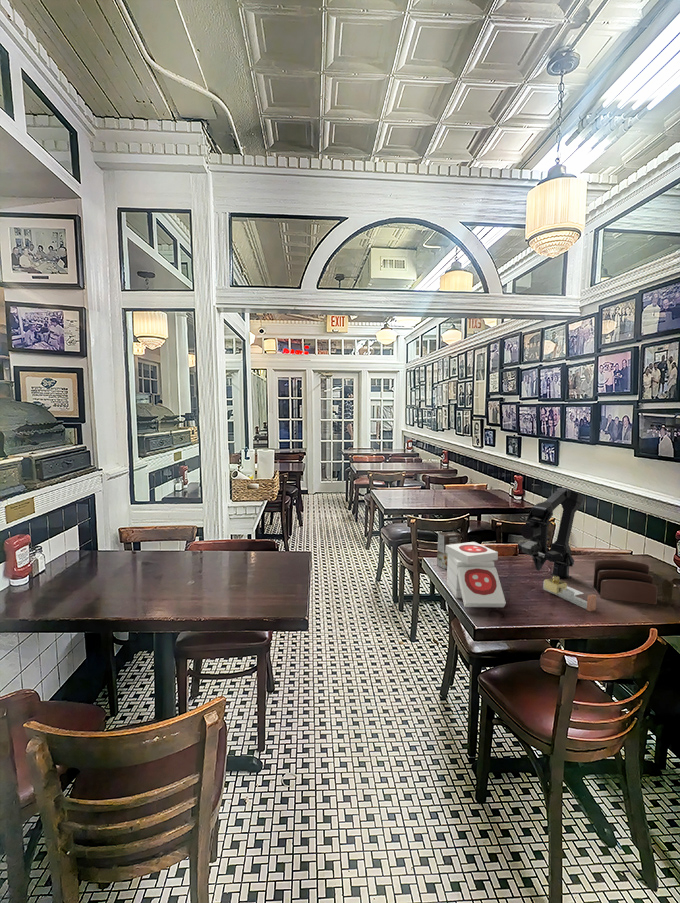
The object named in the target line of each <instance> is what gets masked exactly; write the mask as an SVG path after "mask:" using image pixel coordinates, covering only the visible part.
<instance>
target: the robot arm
mask: <svg viewBox="0 0 680 903" xmlns="http://www.w3.org/2000/svg"><path fill="white" fill-rule="evenodd" d="M583 501H584V497H583V495H582V494H581V493H580V492H575V491H573V490H570V489H569V488H564V487H557V488H556V489H555V491H554V492H553V493H552V494H551V495H550V496H549V497H548V498H547V499H546V500H544V501H542V502H538V503H536V504H534V505H533V506H532V507H531V509H530V511H529V513H528V516H527V519H526V522H525V524H524V525H523V526H522V527H521V528H520V534H521V536H522V537H523V538H524V539H525V540H526V539H527V540H529V541H527V540H526V541H522V542H521V541H520V542H519V543H518V544H517V549H518V550H521V551H522V553H523V554H527V556H528V555H529V556H530V557H531V558H532V560H533V563H534V566H535V570H536V571H538V572H540V571H541V570H542V567H544V564H546V561H548V562H551V563H553V566H552V573H550V576H552V577H553V576H554V575H556V576H559V580H566V579H571V578H573V577H572V576H571V575H569V574H570V567H571V568H572V567H574V564H575V559H574V557H573V555H571V554H572V549H571V547H570V543H569V542H570V538H571V532H572V528H573V523H574V518H575V515H576V512H577V511H578V510H579V509H580V508H581V506H582V503H583ZM560 505H561V507H562V514H561V517H560V523H559V527H558V533H557V538H556V541H554V542H552V543H551V544H550V547H548V541H550V537H548V536H549V535H548V532H549V525H550V524H551V522H550V520H551V518H552V517H553V515H554V511H555V510H556V508H557V507H559V506H560Z"/></svg>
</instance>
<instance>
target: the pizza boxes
mask: <svg viewBox="0 0 680 903" xmlns="http://www.w3.org/2000/svg"><path fill="white" fill-rule="evenodd" d="M445 552H446V553H447V554H448V561H447V570H446V585H447V586H448V588H449V590H450V591H451V592H452V594H453V595H454V597H455V598H456V599H462V601H463V602H462V603H463V607H464V608H504V607H505V606H506V604H507V603H506V599H505V594H504V592H503V588H502V584H501V582H500V577H499V574H498V571H497V568H496V567H495V561H498V559H499V558H498V557H499V552H498V551H497V550H493V549H492V548H489V547H487V546H485V545H483V544H480V543H478V542H476V541H470V542H461V543H459V544H451V545H446V548H445Z"/></svg>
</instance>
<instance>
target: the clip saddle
mask: <svg viewBox="0 0 680 903" xmlns="http://www.w3.org/2000/svg"><path fill="white" fill-rule="evenodd" d="M544 580H545V585H544V588H545V589H547V590H549V591H552V592H554V593H556V594H558V593H559V588H562V587H564V588H567V586H568V582H565V581H564V580H562V579H559V576H556V575H554V576H552V577H551V578H546V579H544Z"/></svg>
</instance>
